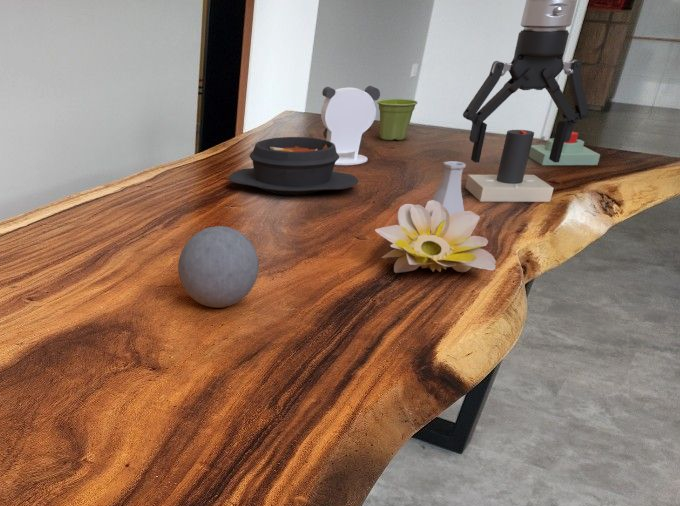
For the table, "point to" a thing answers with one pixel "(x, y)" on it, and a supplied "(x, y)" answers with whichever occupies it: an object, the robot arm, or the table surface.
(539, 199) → the dial panel
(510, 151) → the dial
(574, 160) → the button housing
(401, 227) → the decorative flower
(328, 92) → the panda figurine
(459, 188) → the flask
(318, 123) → the table surface
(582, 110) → the robot arm
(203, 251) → the decorative ball
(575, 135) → the push knob
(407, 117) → the plant pot
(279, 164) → the casserole
